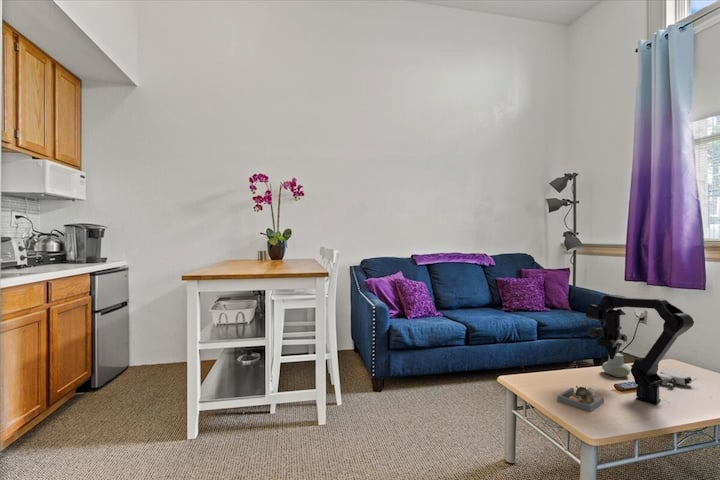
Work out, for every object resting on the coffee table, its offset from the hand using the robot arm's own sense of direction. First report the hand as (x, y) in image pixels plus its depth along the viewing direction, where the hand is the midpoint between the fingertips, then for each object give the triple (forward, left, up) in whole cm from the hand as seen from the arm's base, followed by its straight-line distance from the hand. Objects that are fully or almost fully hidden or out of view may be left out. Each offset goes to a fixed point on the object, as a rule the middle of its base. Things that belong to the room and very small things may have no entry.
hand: (611, 359), depth 160 cm
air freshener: (+4, -18, -12) cm, 22 cm away
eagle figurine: (+1, +27, -12) cm, 30 cm away
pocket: (+2, +27, -12) cm, 30 cm away
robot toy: (-15, -26, -12) cm, 32 cm away
